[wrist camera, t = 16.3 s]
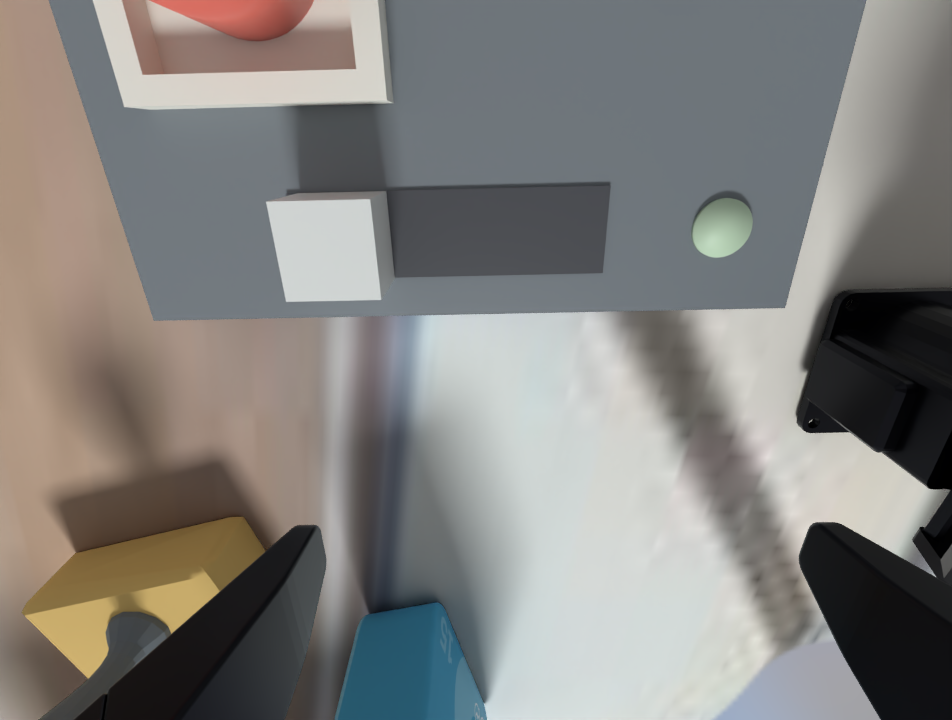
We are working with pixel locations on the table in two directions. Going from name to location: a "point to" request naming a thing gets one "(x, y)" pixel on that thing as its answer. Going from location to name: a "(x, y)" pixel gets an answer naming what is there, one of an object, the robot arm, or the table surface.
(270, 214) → the block
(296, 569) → the robot arm
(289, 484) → the table surface
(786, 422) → the table surface
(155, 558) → the rubber stamp
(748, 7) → the breaker panel
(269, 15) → the cap
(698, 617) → the table surface
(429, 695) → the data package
